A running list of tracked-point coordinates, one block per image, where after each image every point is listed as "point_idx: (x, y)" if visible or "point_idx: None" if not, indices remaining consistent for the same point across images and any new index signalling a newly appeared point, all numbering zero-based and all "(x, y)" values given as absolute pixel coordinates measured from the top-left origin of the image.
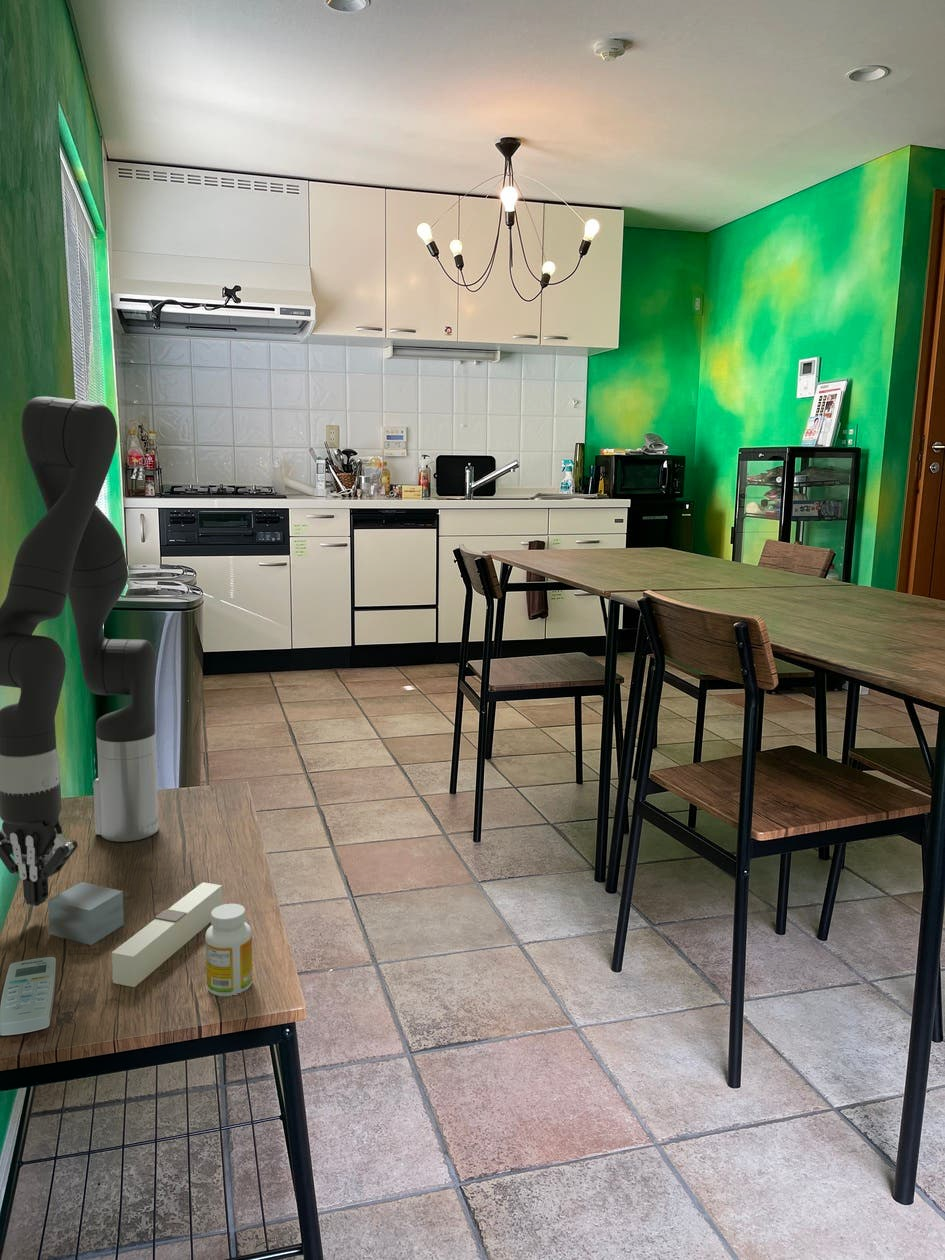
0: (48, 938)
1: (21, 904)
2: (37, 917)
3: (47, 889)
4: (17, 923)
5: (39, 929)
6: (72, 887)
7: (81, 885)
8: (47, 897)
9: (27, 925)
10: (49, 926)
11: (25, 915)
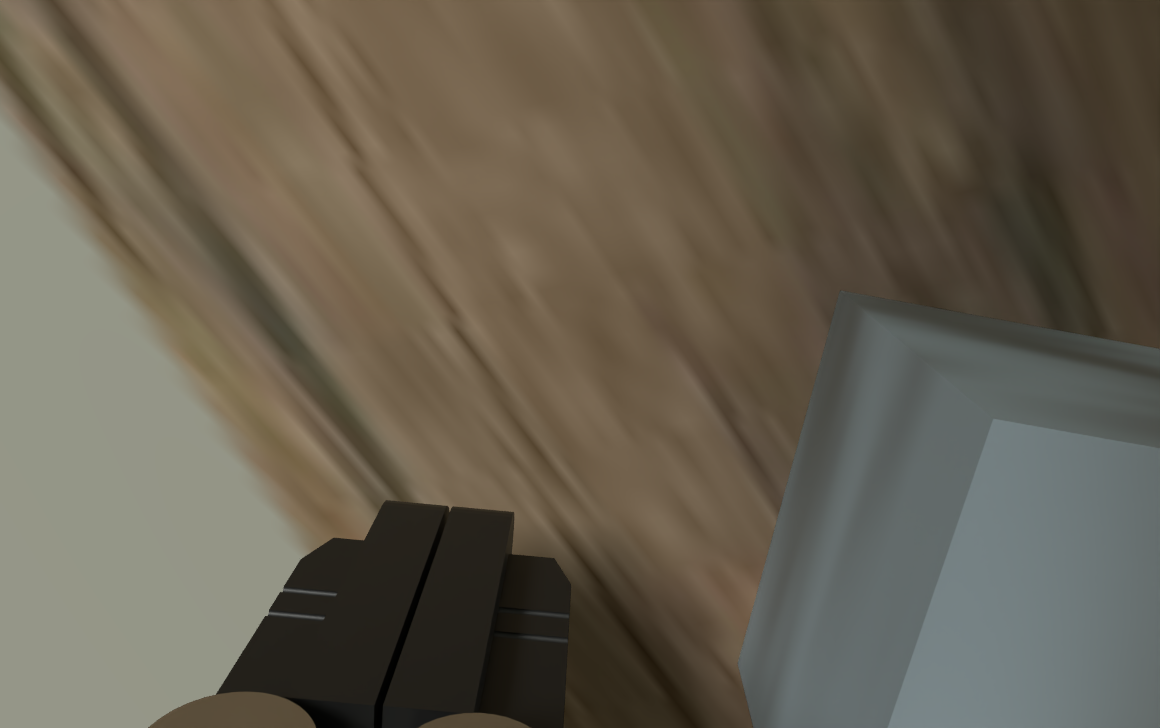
0: None
1: (97, 244)
2: (441, 440)
3: (565, 639)
4: None
5: (602, 615)
6: (944, 615)
7: (1048, 527)
8: (558, 567)
9: None
10: (750, 711)
11: (306, 431)
